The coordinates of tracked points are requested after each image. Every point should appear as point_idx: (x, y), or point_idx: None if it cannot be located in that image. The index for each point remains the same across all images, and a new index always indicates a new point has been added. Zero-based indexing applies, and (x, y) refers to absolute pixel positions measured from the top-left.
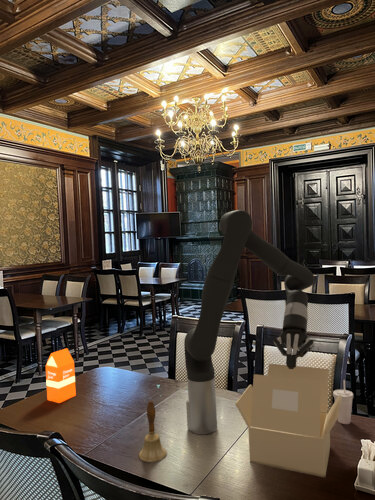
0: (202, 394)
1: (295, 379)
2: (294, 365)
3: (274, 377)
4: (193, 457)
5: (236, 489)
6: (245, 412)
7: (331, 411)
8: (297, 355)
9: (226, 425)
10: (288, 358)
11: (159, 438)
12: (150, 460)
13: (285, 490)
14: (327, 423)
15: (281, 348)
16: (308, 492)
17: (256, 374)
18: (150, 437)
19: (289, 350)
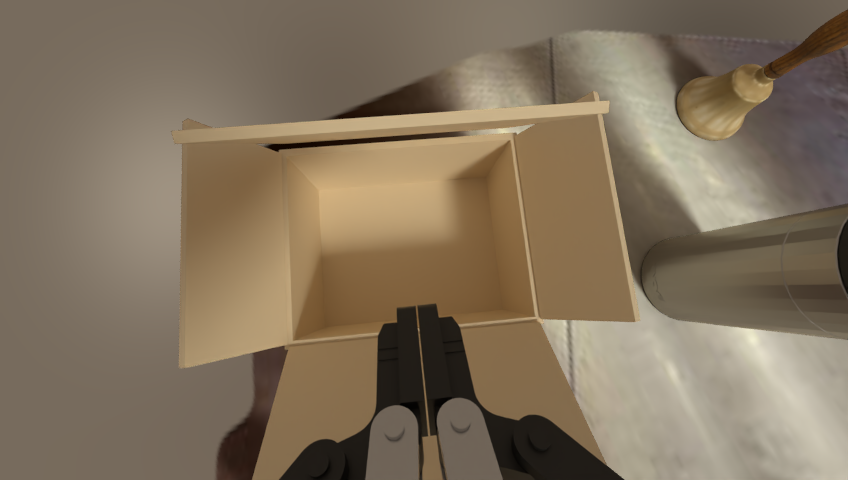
0: (786, 220)
1: (334, 120)
2: (386, 325)
3: (470, 110)
4: (618, 137)
5: (476, 74)
6: (549, 140)
7: (251, 288)
8: (365, 434)
9: (630, 325)
10: (449, 372)
11: (732, 92)
12: (695, 78)
13: (384, 110)
14: (266, 217)
15: (571, 465)
16: None
17: (591, 102)
18: (753, 68)
19: (458, 453)
